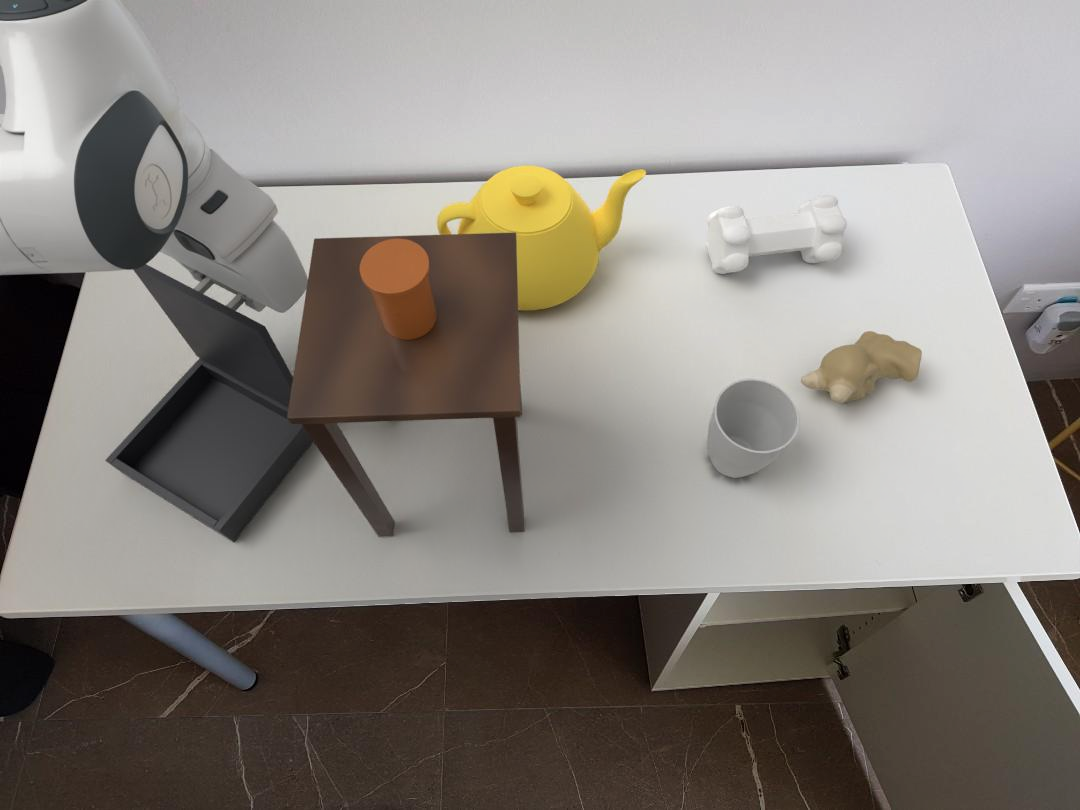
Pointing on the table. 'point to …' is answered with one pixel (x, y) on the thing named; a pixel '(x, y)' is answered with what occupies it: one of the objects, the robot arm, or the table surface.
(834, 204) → the bone shaped toy
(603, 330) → the table surface
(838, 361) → the tan lumpy rounded piece
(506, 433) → the shelf legs
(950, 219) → the table surface
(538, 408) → the table surface
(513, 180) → the teapot
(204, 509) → the hinged lid box
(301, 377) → the shelf top
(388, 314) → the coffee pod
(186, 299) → the lid
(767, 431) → the cup
